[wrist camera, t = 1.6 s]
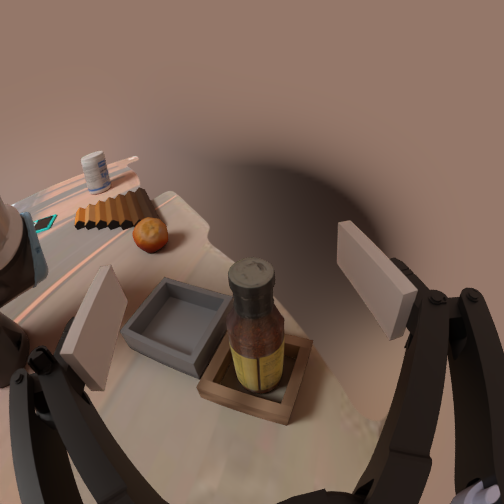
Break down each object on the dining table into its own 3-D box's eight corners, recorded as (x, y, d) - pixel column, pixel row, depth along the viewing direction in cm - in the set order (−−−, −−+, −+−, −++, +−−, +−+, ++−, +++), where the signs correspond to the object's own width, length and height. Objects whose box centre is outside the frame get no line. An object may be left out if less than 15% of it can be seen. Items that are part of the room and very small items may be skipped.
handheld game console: (25, 226, 75) (24, 223, 74) (58, 216, 79) (56, 213, 78) (16, 241, 67) (15, 238, 66) (50, 230, 71) (48, 226, 70)
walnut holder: (201, 397, 33) (196, 387, 31) (234, 333, 42) (233, 319, 40) (286, 425, 29) (289, 417, 27) (309, 353, 38) (313, 340, 36)
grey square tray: (129, 347, 39) (119, 331, 36) (169, 295, 49) (164, 277, 46) (199, 379, 35) (193, 364, 32) (234, 315, 45) (232, 296, 42)
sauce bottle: (280, 357, 38) (291, 247, 26) (282, 395, 33) (298, 295, 21) (235, 357, 38) (222, 248, 26) (233, 395, 33) (214, 296, 21)
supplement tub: (110, 191, 90) (101, 154, 81) (87, 197, 87) (78, 161, 78) (112, 182, 97) (105, 148, 88) (91, 188, 94) (83, 155, 86)
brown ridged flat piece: (162, 228, 68) (146, 195, 86) (160, 217, 66) (144, 186, 84) (75, 259, 59) (78, 218, 76) (70, 248, 57) (75, 209, 74)
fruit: (152, 226, 65) (156, 206, 59) (171, 249, 64) (176, 231, 58) (126, 241, 61) (126, 221, 54) (144, 266, 59) (145, 249, 53)
